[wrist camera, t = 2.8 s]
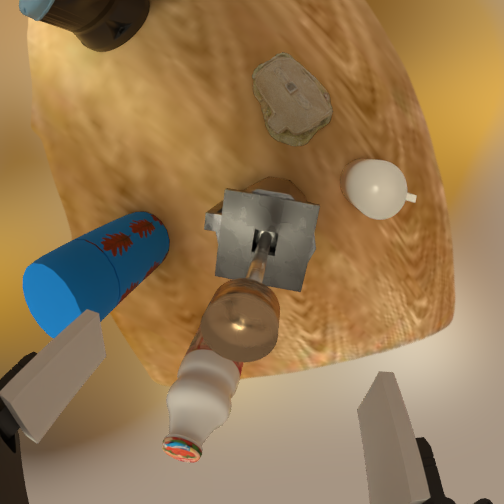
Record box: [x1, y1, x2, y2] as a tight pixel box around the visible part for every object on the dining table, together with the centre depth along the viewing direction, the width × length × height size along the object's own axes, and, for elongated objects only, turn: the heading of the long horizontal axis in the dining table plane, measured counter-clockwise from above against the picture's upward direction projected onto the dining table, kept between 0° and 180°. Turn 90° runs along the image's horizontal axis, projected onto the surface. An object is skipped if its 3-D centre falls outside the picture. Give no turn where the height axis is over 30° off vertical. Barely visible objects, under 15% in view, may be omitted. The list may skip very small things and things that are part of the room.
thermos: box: [23, 212, 169, 338], centre depth 37 cm, size 11×11×25 cm
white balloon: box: [340, 159, 416, 220], centre depth 37 cm, size 8×10×9 cm
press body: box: [204, 177, 320, 292], centre depth 36 cm, size 10×13×17 cm
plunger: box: [201, 229, 280, 362], centre depth 23 cm, size 8×8×18 cm
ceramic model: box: [252, 52, 333, 146], centre depth 34 cm, size 14×11×10 cm
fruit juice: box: [162, 325, 244, 462], centre depth 40 cm, size 9×9×28 cm
